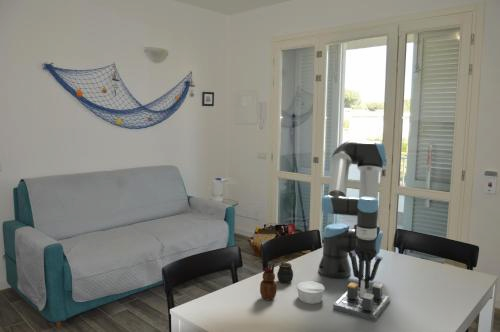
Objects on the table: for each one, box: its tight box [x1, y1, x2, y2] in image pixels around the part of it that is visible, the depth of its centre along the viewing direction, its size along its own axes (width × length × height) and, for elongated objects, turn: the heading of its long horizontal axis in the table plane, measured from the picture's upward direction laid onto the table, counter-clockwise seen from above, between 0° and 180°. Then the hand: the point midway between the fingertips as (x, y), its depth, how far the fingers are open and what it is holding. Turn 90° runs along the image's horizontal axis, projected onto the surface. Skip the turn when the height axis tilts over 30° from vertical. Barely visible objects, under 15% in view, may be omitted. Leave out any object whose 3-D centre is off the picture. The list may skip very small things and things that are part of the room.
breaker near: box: [362, 293, 374, 311], centre depth 147 cm, size 3×4×5 cm
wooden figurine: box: [259, 262, 278, 301], centre depth 158 cm, size 7×6×15 cm
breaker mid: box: [346, 282, 359, 299], centre depth 156 cm, size 3×4×5 cm
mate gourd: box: [276, 257, 294, 285], centre depth 176 cm, size 7×8×10 cm
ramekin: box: [296, 280, 326, 305], centre depth 159 cm, size 11×11×5 cm
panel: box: [332, 288, 391, 322], centre depth 155 cm, size 16×20×2 cm
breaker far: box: [371, 282, 384, 299], centre depth 157 cm, size 3×4×5 cm
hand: (363, 295), depth 154 cm, fingers closed
